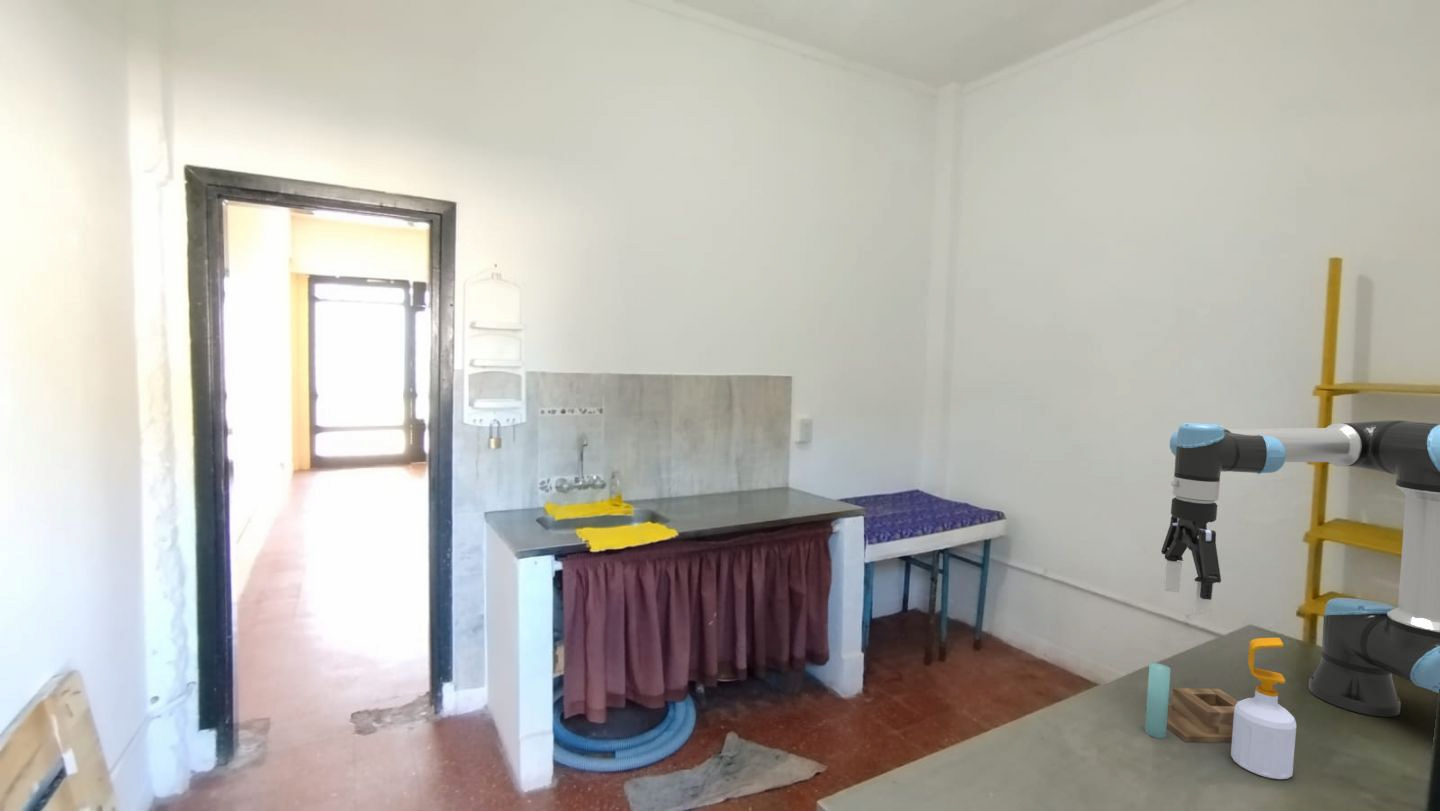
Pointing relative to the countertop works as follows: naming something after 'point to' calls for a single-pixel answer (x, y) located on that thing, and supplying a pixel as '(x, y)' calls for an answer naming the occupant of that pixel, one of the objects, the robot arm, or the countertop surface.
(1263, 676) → the soap bottle
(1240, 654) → the countertop surface
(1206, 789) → the countertop surface
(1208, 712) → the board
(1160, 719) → the peg
